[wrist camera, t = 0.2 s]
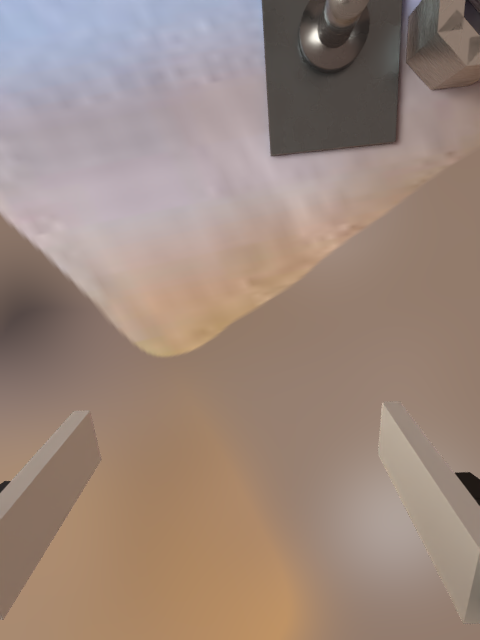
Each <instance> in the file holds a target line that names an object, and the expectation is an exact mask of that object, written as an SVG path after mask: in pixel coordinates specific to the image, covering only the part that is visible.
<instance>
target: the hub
mask: <svg viewBox="0 0 480 640" xmlns="http://www.w3.org/2000/svg"><path fill="white" fill-rule="evenodd" d="M465 1H470V2H471V4H472V5H473V6H474V7H475V8H476V10H477V11H478V12H479V13H480V0H422V1H421V2H420V3H419V5H418V6H417V7H416V8H415V10H414V11H413V12H412V13H411V15H410V16H409V20H408V38H407V57H406V63H407V64H408V65H409V66H410V67H411V69H412V70H413V71H414V72H415V73H416V74H417V75H418V76H419V77H420V78H421V80H422V81H423V82H424V83H425V84H426V85H427V86H428V87H429V88H430V89H431V90H436V89H445V88H453V87H462V86H469V85H471V84H473V83H475V82H476V81H478V80H480V36H479V34H478V33H477V32H476V31H475V30H474V28H473V27H472V26H471V25H470V24H469V23H468V21H467V20H466V19H465V18H464V8H465Z"/></svg>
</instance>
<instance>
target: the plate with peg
mask: <svg viewBox="0 0 480 640" xmlns="http://www.w3.org/2000/svg"><path fill="white" fill-rule="evenodd" d="M262 13H263V31H264V48H265V65H266V83H267V100H268V117H269V135H270V152H271V156H277V155H286V154H296V153H305V152H314V151H324V150H333V149H342V148H351V147H361V146H370V145H379V144H388V143H394V142H395V139H396V118H397V97H398V76H399V55H400V34H401V13H402V0H262Z"/></svg>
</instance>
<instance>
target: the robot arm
mask: <svg viewBox="0 0 480 640" xmlns="http://www.w3.org/2000/svg"><path fill="white" fill-rule="evenodd" d="M378 455H379V457H380V459H381V461H382V463H383V465H384V467H385V469H386V471H387V473H388V475H389V477H390V479H391V481H392V483H393V485H394V487H395V489H396V491H397V493H398V495H399V497H400V499H401V501H402V503H403V505H404V507H405V509H406V511H407V513H408V515H409V517H410V519H411V520H412V522H413V524H414V527H415V529H416V531H417V533H418V535H419V537H420V538H421V540H422V542H423V544H424V546H425V548H426V550H427V552H428V554H429V556H430V558H431V560H432V562H433V564H434V566H435V568H436V570H437V572H438V574H439V576H440V578H441V580H442V582H443V584H444V586H445V588H446V590H447V592H448V594H449V596H450V598H451V600H452V602H453V604H454V606H455V608H456V610H457V612H458V614H459V616H460V618H461V620H462V622H463V624H480V479H478V478H477V477H476V476H474V475H473V474H471V473H470V472H468V473H465V472H463V473H454V472H453V471H452V469H451V468H450V467H449V465H448V464H447V462H446V461H445V460H444V458H443V457H442V456H441V455H440V453H439V452H438V451H437V449H436V448H435V447H434V445H433V444H432V443H431V441H430V440H429V439H428V438H427V436H426V435H425V433H424V432H423V431H422V430H421V428H420V427H419V426H418V424H417V423H416V422H415V420H414V419H413V418H412V416H411V415H410V414H409V412H408V411H407V410H406V409H405V407H404V406H403V405H402V403H401V402H400V401H398V402H382V411H381V423H380V435H379V447H378ZM100 461H101V455H100V451H99V447H98V443H97V438H96V434H95V430H94V425H93V421H92V417H91V413H90V411H74V412H73V413H72V414H71V415H70V416H69V417H68V418H67V419H66V421H65V422H64V423H63V424H62V425H61V426H60V427H59V428H58V429H57V431H56V432H55V433H54V434H53V435H52V436H51V437H50V439H48V441H47V442H46V443H45V444H44V445H43V446H42V447H41V448H40V450H39V451H38V452H37V453H36V454H35V455H34V456H33V457H32V458H31V460H30V461H29V462H28V463H27V464H26V465H25V466H24V467H23V469H22V470H21V471H20V472H19V473H18V474H17V475H16V476H15V477H14V478H13V480H12V481H4V482H3V483H1V484H0V620H4V618H5V616H6V615H7V613H8V612H9V610H10V608H11V607H12V605H13V603H14V602H15V600H16V598H17V597H18V595H19V594H20V592H21V590H22V589H23V587H24V585H25V584H26V582H27V580H28V579H29V577H30V576H31V574H32V572H33V570H34V569H35V567H36V566H37V564H38V563H39V561H40V559H41V558H42V556H43V554H44V553H45V551H46V550H47V548H48V546H49V545H50V543H51V541H52V540H53V538H54V536H55V535H56V533H57V532H58V530H59V528H60V527H61V525H62V523H63V522H64V520H65V518H66V517H67V515H68V514H69V512H70V510H71V509H72V507H73V505H74V504H75V502H76V501H77V499H78V497H79V496H80V494H81V492H82V491H83V489H84V487H85V486H86V484H87V482H88V481H89V479H90V478H91V476H92V474H93V473H94V471H95V469H96V468H97V466H98V464H99V463H100Z"/></svg>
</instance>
